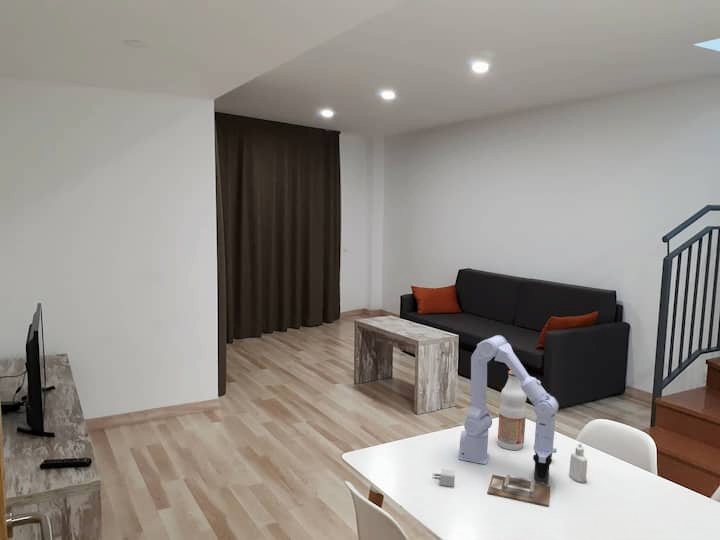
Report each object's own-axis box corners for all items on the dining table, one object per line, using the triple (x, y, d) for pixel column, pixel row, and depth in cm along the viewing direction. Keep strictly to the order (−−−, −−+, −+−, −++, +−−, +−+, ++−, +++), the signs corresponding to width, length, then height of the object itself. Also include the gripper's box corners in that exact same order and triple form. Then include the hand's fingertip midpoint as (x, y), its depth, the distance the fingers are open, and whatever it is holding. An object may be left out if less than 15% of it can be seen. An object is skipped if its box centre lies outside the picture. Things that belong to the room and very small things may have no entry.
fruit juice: (504, 451, 198) (509, 376, 195) (492, 440, 208) (497, 368, 204) (528, 449, 201) (533, 375, 197) (515, 438, 210) (520, 367, 206)
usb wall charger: (454, 487, 172) (454, 475, 172) (431, 485, 173) (432, 473, 173) (454, 481, 176) (455, 469, 176) (432, 478, 177) (433, 467, 177)
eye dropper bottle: (572, 482, 178) (575, 447, 176) (568, 474, 183) (571, 439, 182) (586, 483, 177) (589, 448, 176) (581, 475, 183) (584, 440, 181)
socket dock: (487, 493, 169) (487, 486, 169) (492, 476, 180) (492, 468, 180) (548, 507, 163) (549, 498, 162) (550, 487, 174) (550, 480, 173)
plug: (533, 481, 178) (534, 463, 177) (534, 476, 181) (535, 459, 180) (548, 484, 176) (549, 466, 175) (548, 479, 179) (549, 461, 179)
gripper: (557, 445, 168) (553, 487, 170) (558, 428, 182) (555, 467, 184) (533, 441, 171) (530, 482, 173) (535, 424, 184) (533, 463, 186)
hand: (541, 474), depth 178 cm, fingers closed on plug, 3 cm apart
